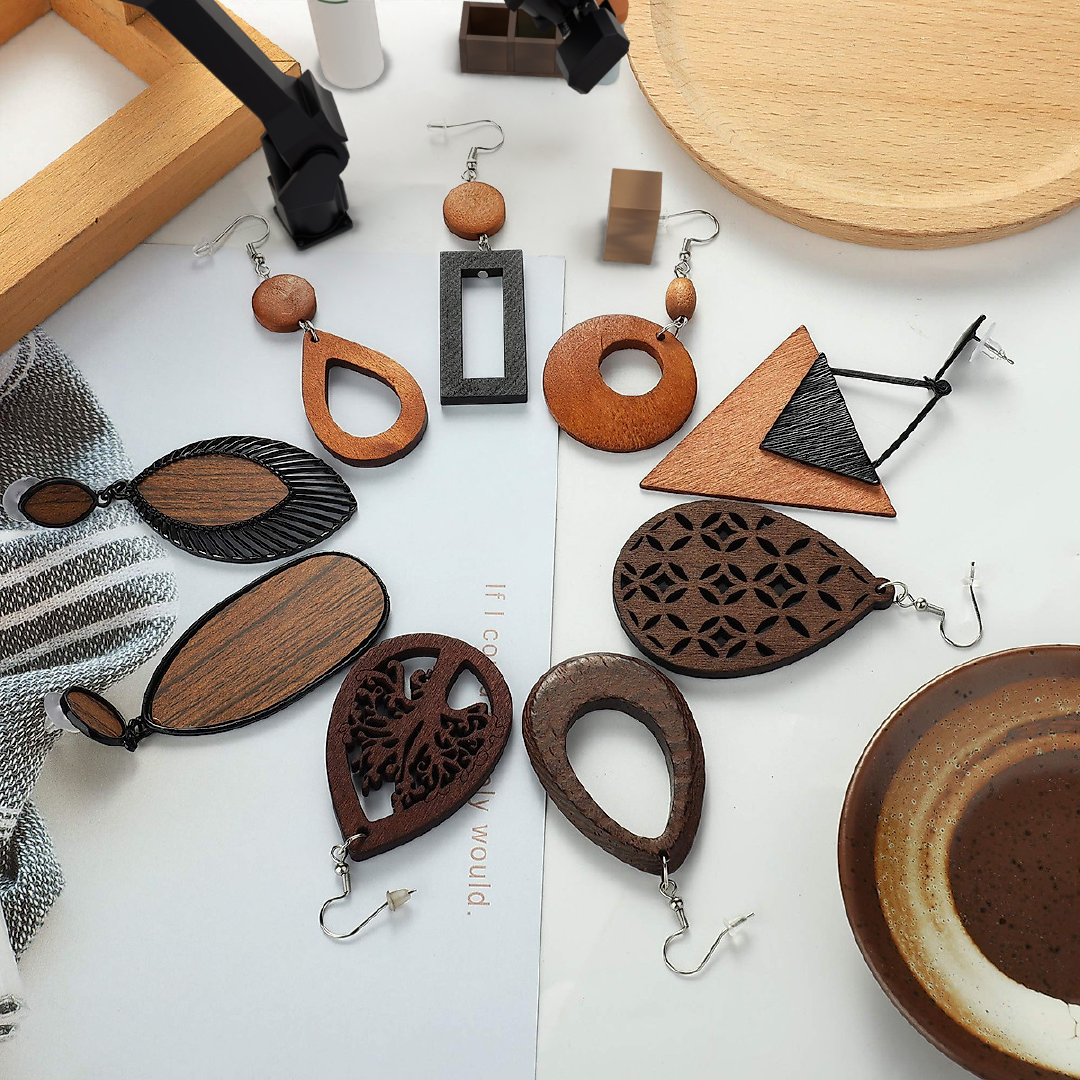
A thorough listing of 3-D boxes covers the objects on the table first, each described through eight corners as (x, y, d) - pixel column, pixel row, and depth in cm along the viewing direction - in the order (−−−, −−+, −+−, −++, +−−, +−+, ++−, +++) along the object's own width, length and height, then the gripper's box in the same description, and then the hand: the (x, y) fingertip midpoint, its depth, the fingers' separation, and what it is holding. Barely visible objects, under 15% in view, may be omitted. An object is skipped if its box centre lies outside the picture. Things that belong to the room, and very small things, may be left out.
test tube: (608, 92, 98) (615, 21, 91) (578, 77, 99) (583, 6, 92) (627, 71, 99) (636, 0, 92) (598, 56, 100) (604, -16, 93)
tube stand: (603, 261, 102) (609, 206, 95) (606, 223, 104) (612, 167, 97) (651, 264, 102) (660, 210, 95) (652, 227, 104) (662, 171, 97)
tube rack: (460, 72, 113) (458, 38, 109) (465, 35, 115) (463, 0, 111) (607, 80, 113) (610, 46, 108) (608, 42, 115) (611, 8, 111)
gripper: (617, -50, 76) (720, 42, 88) (540, -189, 83) (645, -87, 95) (522, 57, 83) (630, 130, 94) (458, -81, 90) (566, 3, 101)
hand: (619, 41), depth 96 cm, fingers closed on test tube, 3 cm apart
